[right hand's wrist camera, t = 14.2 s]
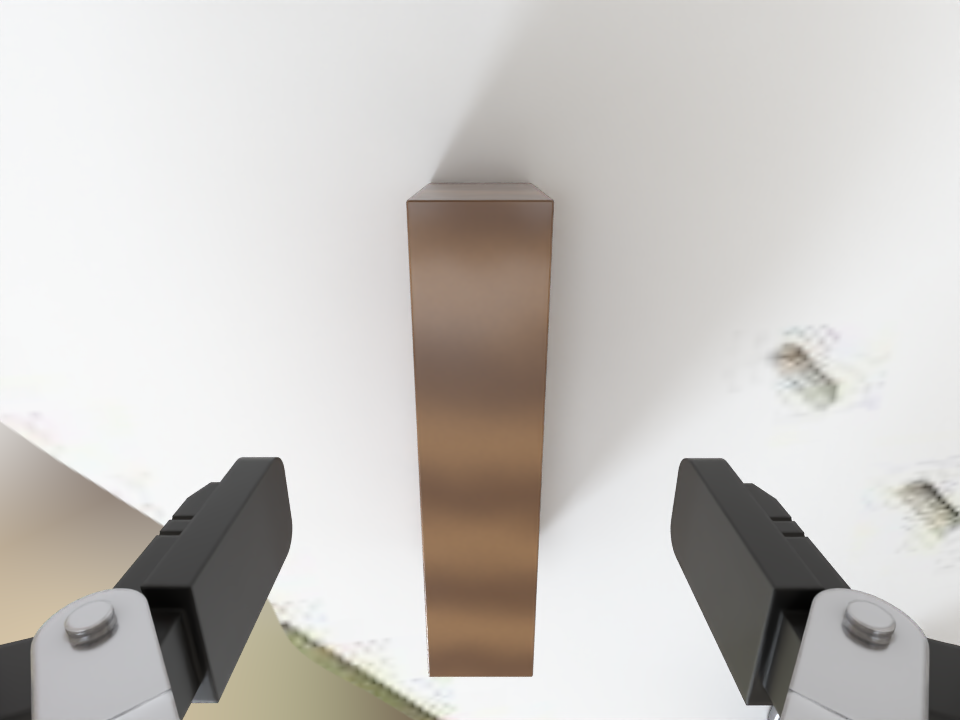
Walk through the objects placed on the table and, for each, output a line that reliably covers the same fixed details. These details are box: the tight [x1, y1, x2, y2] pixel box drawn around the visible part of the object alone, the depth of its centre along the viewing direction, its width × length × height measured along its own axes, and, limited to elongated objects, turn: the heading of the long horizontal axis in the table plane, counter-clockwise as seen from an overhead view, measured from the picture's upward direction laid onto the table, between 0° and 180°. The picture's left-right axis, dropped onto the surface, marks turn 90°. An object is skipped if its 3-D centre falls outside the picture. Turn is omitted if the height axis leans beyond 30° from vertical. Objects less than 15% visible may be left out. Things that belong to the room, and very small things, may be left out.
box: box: [406, 183, 554, 677], centre depth 33 cm, size 27×6×11 cm, turn 0°
